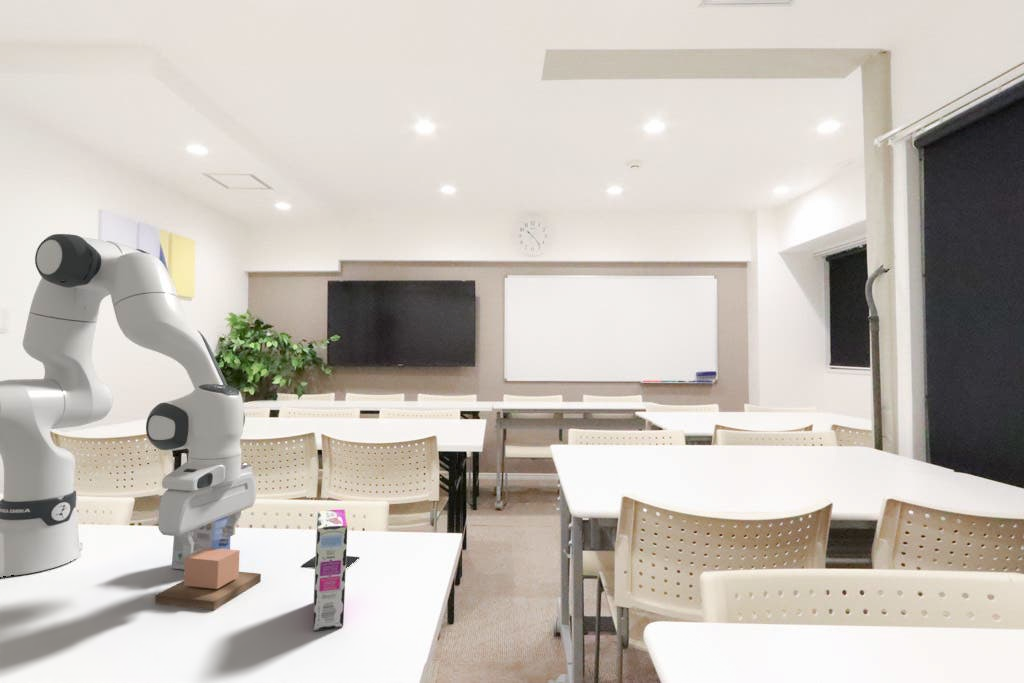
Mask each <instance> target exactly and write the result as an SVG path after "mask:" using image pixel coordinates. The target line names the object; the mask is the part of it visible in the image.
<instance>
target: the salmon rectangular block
mask: <svg viewBox="0 0 1024 683" xmlns="http://www.w3.org/2000/svg"><path fill="white" fill-rule="evenodd" d="M183 572H184V573H183V574H184V576H183V581H184V585H185V586H194V587H203V588H213V589H218V588H220V587H222V586H223V585H225V584H227V583H229V582H230V581H232V580H234V579H236V578H237V577H238V576H239V572H240V550H239V549H231V548H230V549H219V548H205V549H203V550H201V551H199V552H197V553H194V554H192V555H190V556H188V557H186V558H185V570H184V571H183Z"/></svg>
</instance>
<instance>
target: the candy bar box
mask: <svg viewBox="0 0 1024 683" xmlns="http://www.w3.org/2000/svg"><path fill="white" fill-rule="evenodd" d="M316 520H317V522H316V535H315V536H316V537H315V538H316V540H315V556H316V558H315V568H314V586H313V588H314V589H313V592H314V593H313V612H312V613H313V618H312V619H313V620H312V621H313V622H312V631H313V632H318V631H325V630H331V629H337V628H338V627H339V628H342V627H344V620H345V619H344V618H345V616H344V615H345V596H346V574H347V573H346V572H347V569H346V556H347V549H348V547H347V545H348V523H347V516H346V510H345V509H331V510H319V511H317V519H316Z"/></svg>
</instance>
